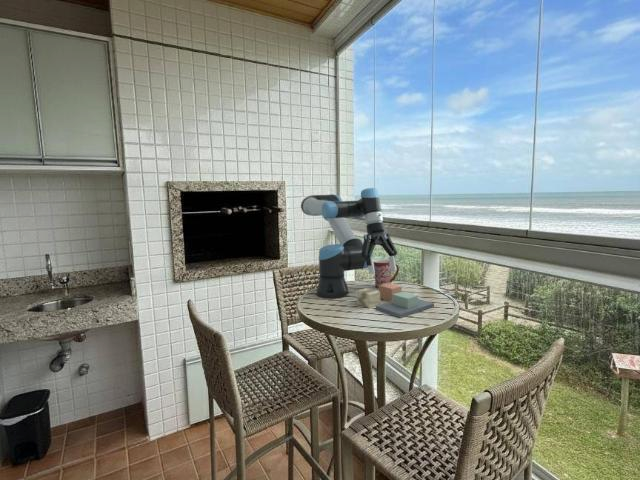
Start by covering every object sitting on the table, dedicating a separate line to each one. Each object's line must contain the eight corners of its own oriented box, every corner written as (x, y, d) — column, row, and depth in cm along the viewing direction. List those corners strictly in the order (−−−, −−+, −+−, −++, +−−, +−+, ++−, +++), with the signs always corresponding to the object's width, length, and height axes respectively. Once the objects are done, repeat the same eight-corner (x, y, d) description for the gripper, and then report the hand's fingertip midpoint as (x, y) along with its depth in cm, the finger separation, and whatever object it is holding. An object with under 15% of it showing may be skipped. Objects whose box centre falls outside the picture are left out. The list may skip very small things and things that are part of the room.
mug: (374, 289, 164) (374, 262, 163) (372, 284, 173) (372, 259, 172) (400, 289, 163) (400, 262, 162) (397, 284, 172) (397, 258, 171)
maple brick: (357, 304, 143) (356, 290, 142) (367, 301, 146) (367, 288, 146) (369, 308, 136) (369, 294, 136) (380, 305, 140) (380, 291, 139)
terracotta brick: (378, 298, 150) (378, 285, 150) (388, 295, 154) (388, 283, 153) (392, 302, 144) (391, 288, 143) (401, 299, 147) (401, 286, 146)
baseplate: (375, 309, 135) (375, 296, 134) (409, 299, 146) (408, 287, 146) (400, 318, 124) (400, 303, 124) (434, 306, 136) (434, 293, 135)
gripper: (360, 220, 133) (368, 273, 130) (399, 221, 149) (408, 268, 145) (347, 225, 139) (355, 275, 136) (387, 225, 154) (395, 271, 151)
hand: (383, 272), depth 140 cm, fingers open, 13 cm apart
